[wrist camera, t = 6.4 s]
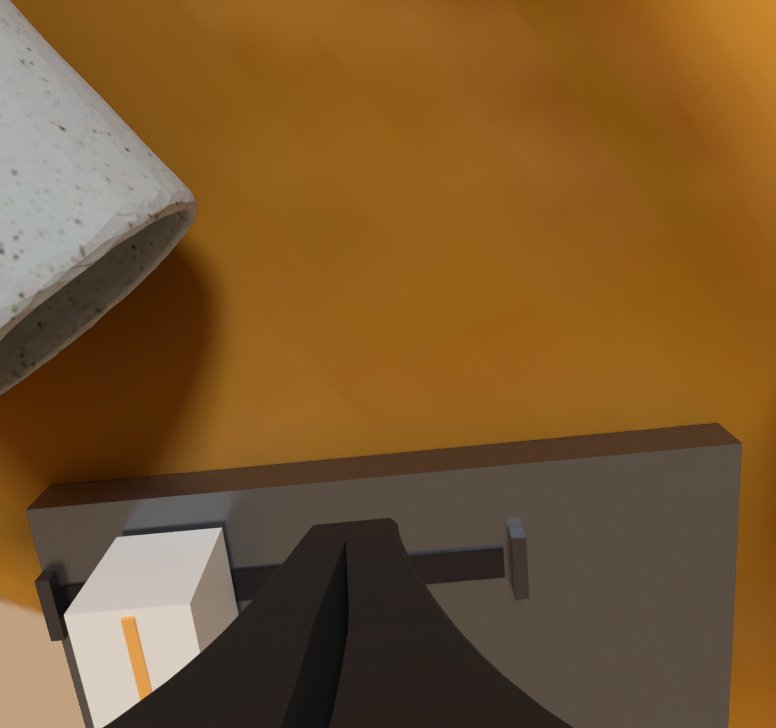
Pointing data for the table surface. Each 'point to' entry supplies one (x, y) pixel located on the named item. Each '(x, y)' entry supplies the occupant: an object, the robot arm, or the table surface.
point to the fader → (148, 615)
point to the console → (484, 555)
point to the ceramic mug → (70, 203)
